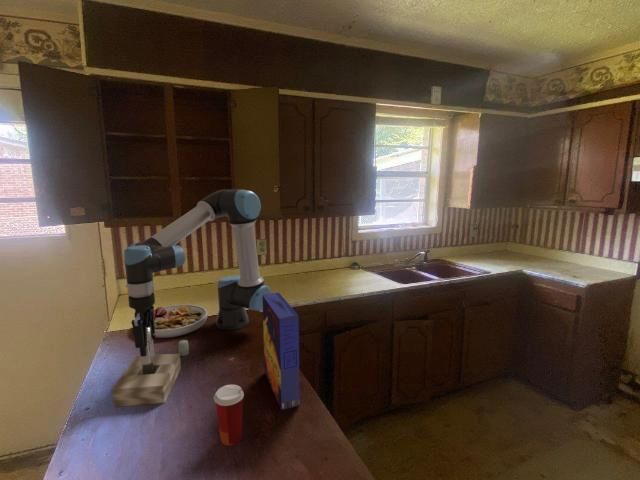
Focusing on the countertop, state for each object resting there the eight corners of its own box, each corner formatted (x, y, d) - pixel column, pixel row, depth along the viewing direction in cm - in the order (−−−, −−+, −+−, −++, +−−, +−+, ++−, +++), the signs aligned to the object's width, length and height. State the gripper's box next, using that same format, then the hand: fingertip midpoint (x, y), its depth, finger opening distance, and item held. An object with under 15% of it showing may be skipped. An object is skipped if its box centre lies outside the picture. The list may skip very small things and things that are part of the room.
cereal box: (264, 373, 126) (262, 294, 121) (280, 369, 128) (279, 292, 123) (281, 410, 106) (278, 317, 101) (299, 405, 108) (298, 314, 103)
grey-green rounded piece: (189, 351, 142) (188, 339, 141) (187, 355, 138) (186, 344, 137) (180, 351, 141) (179, 340, 140) (178, 356, 138) (177, 344, 137)
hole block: (180, 368, 129) (179, 353, 128) (164, 402, 110) (163, 385, 109) (138, 371, 127) (136, 356, 126) (113, 406, 108) (111, 389, 107)
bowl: (217, 314, 179) (216, 300, 177) (190, 342, 150) (188, 325, 148) (161, 312, 182) (160, 298, 180) (124, 339, 153) (122, 322, 151)
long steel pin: (155, 368, 119) (151, 325, 116) (152, 374, 116) (148, 329, 113) (144, 369, 119) (140, 325, 116) (140, 375, 115) (136, 330, 112)
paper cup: (247, 427, 99) (246, 383, 96) (242, 448, 91) (240, 400, 89) (220, 428, 99) (217, 383, 96) (212, 449, 91) (209, 401, 89)
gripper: (138, 286, 120) (144, 349, 124) (117, 303, 104) (125, 375, 108) (161, 285, 121) (166, 347, 125) (144, 302, 105) (151, 373, 109)
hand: (147, 360), depth 117 cm, fingers closed on long steel pin, 3 cm apart
